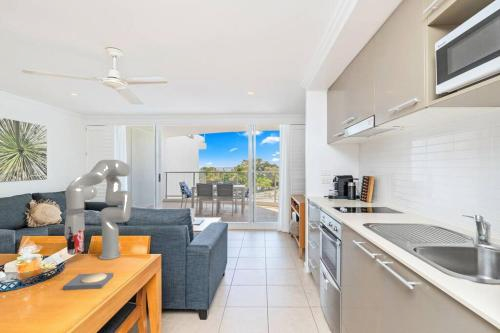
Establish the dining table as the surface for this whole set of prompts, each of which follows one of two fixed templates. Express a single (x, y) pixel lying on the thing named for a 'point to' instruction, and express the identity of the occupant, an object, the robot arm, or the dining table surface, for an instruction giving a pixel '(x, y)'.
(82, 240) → the soda can
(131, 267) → the dining table surface
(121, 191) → the robot arm
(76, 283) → the serving board
